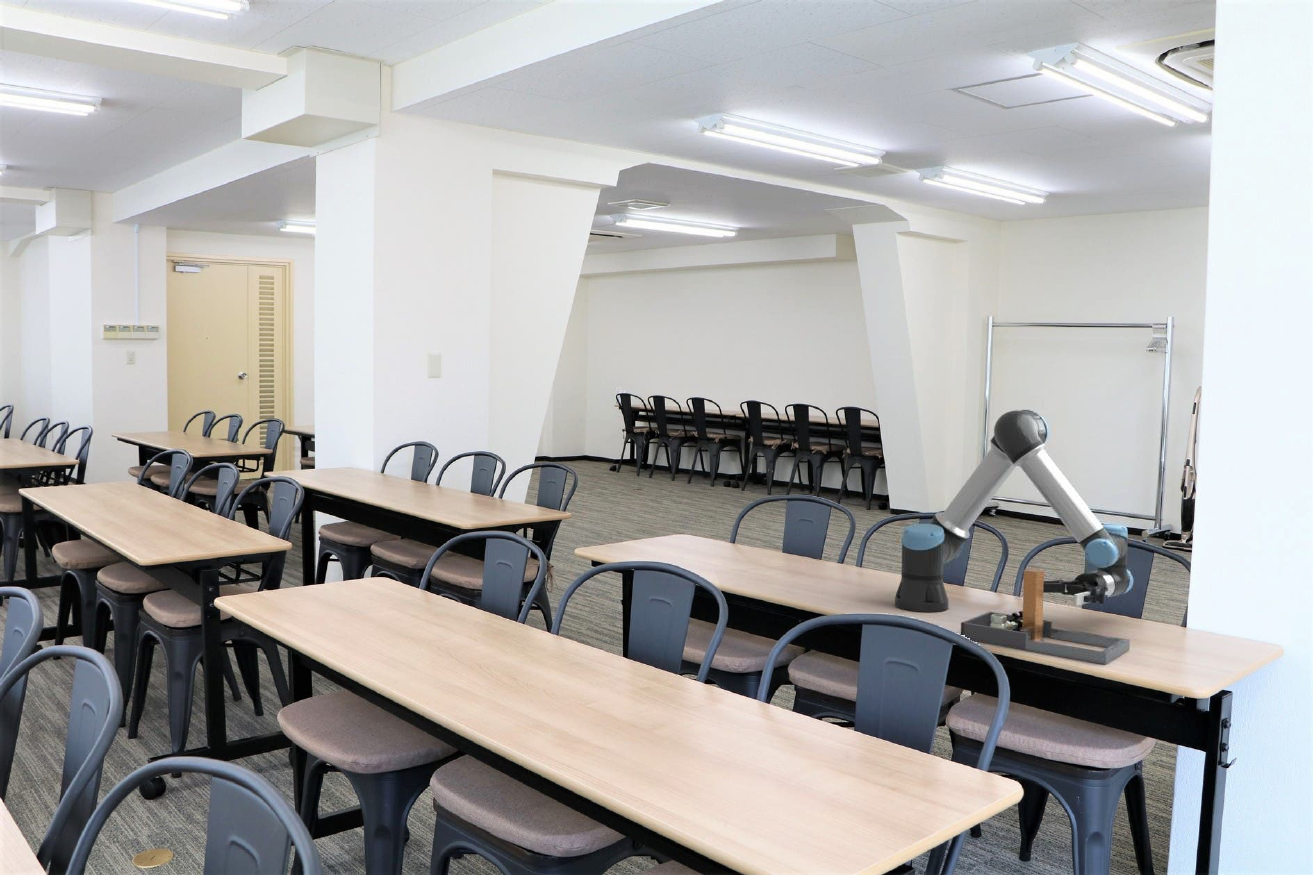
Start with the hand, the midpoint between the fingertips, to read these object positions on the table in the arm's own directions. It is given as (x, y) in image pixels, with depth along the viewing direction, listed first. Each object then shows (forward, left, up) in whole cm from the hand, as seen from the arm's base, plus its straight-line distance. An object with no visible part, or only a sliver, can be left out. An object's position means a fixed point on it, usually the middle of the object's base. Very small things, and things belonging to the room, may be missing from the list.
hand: (1049, 595), depth 251 cm
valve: (+9, -7, -11) cm, 16 cm away
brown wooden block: (+8, -1, -11) cm, 13 cm away
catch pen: (+8, -8, -11) cm, 15 cm away
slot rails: (+8, +9, -11) cm, 16 cm away
